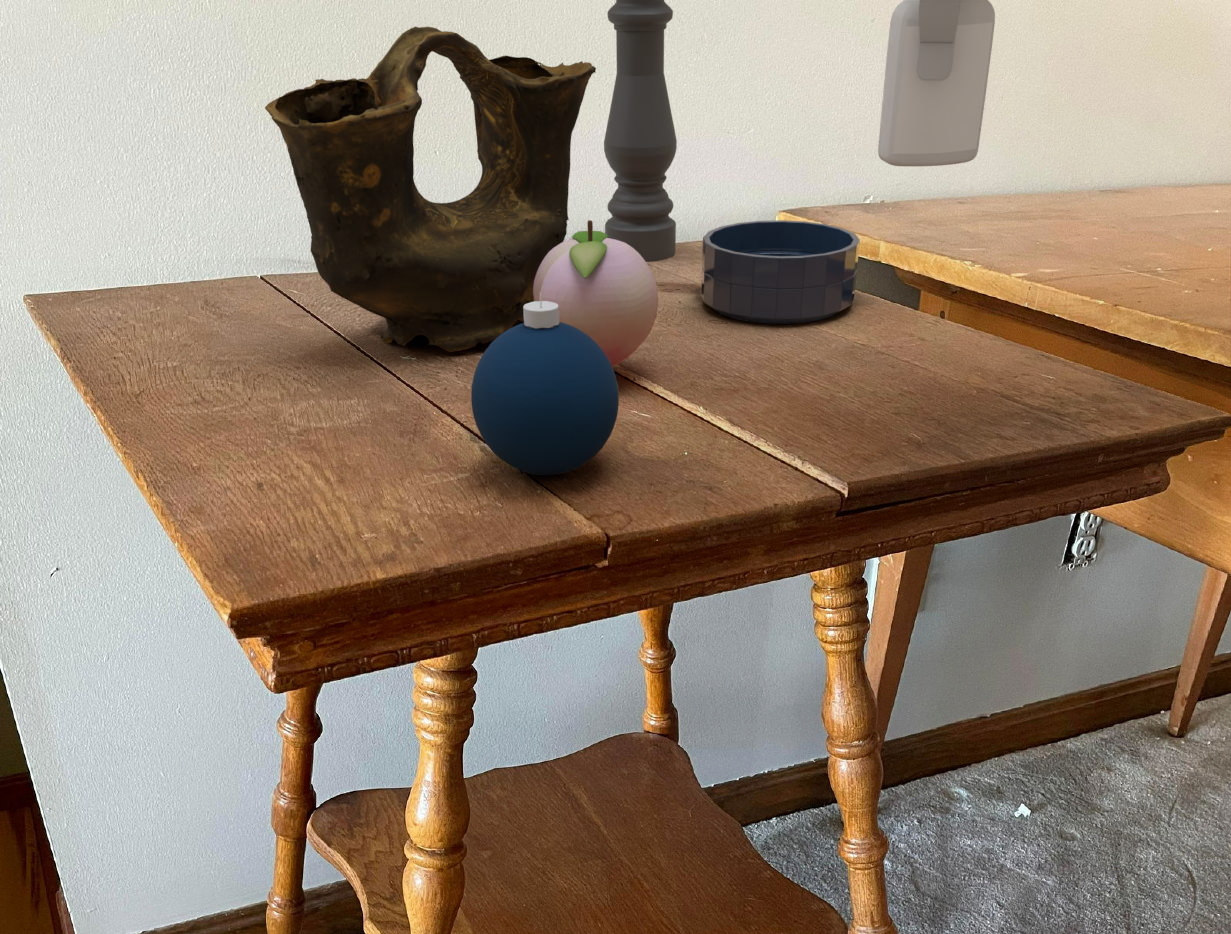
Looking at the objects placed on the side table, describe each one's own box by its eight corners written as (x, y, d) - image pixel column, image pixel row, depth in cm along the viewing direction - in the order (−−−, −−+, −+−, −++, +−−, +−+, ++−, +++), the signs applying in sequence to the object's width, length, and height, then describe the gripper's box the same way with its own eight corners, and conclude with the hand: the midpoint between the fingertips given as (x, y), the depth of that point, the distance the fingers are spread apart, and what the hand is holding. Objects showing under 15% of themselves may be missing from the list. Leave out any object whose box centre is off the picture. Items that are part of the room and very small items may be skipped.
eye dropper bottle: (970, 170, 71) (1005, -91, 64) (871, 166, 73) (894, -89, 66) (980, 156, 75) (1014, -95, 67) (885, 152, 76) (908, -93, 69)
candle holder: (595, 269, 110) (587, -81, 95) (619, 252, 115) (616, -85, 100) (662, 275, 109) (665, -82, 93) (684, 257, 113) (690, -85, 98)
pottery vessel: (545, 287, 106) (532, 7, 94) (630, 315, 99) (629, 17, 87) (279, 352, 93) (225, 36, 81) (357, 388, 86) (311, 51, 74)
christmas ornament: (625, 495, 71) (623, 311, 65) (476, 501, 71) (461, 317, 65) (613, 441, 78) (611, 269, 72) (477, 446, 78) (463, 274, 71)
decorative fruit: (669, 394, 85) (671, 233, 79) (547, 402, 84) (540, 240, 78) (643, 351, 92) (643, 202, 86) (532, 358, 91) (524, 207, 85)
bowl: (861, 289, 104) (868, 224, 101) (841, 332, 95) (847, 261, 92) (719, 281, 107) (721, 217, 104) (686, 321, 98) (687, 252, 95)
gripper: (1036, -267, 54) (987, 101, 62) (1041, -242, 70) (1001, 49, 78) (887, -259, 55) (858, 99, 64) (924, -237, 71) (897, 49, 79)
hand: (937, 72), depth 71 cm, fingers closed on eye dropper bottle, 4 cm apart
